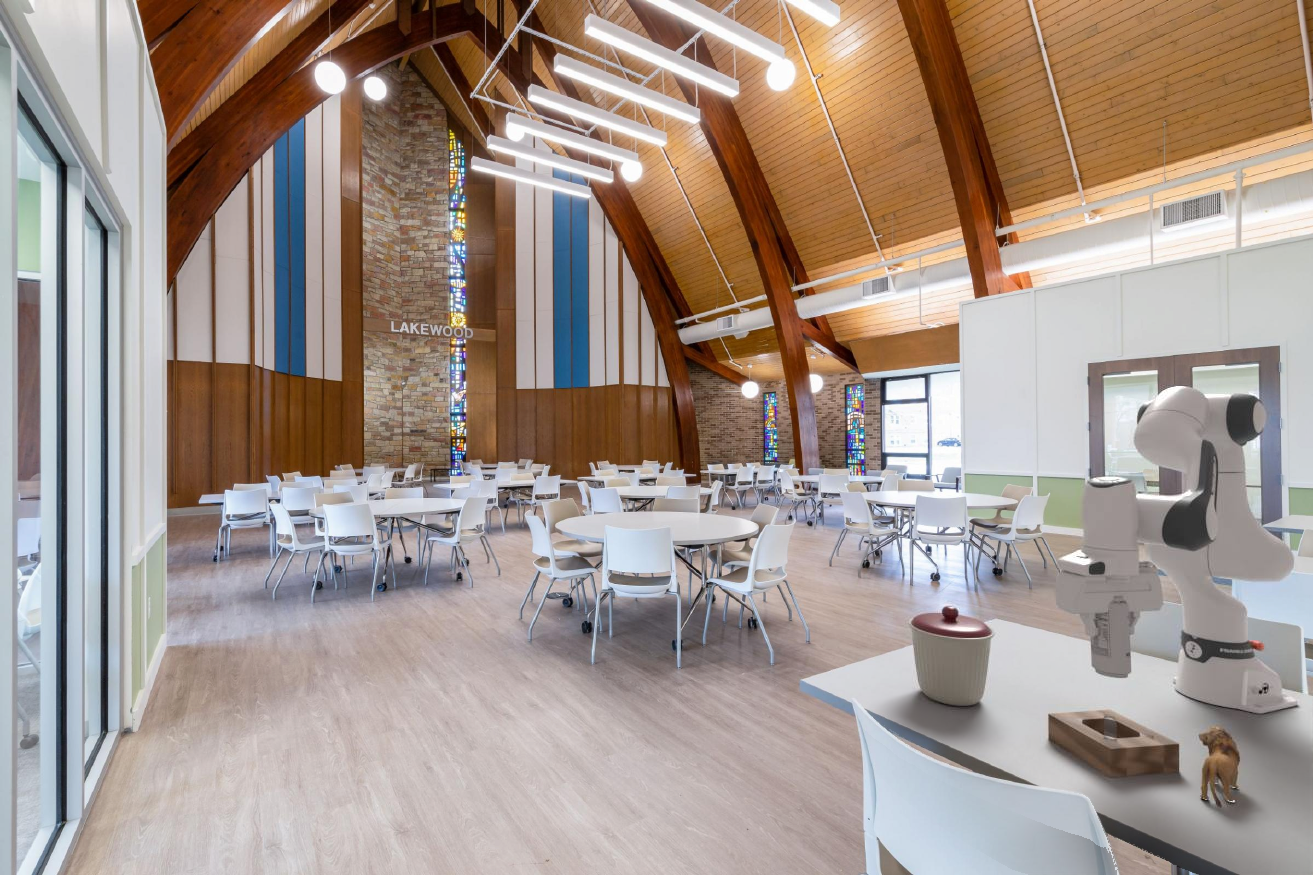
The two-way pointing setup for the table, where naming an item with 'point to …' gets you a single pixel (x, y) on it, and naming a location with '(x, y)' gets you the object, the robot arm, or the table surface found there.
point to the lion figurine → (1219, 763)
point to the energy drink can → (1112, 641)
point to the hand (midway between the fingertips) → (1109, 634)
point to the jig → (1113, 743)
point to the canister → (951, 656)
